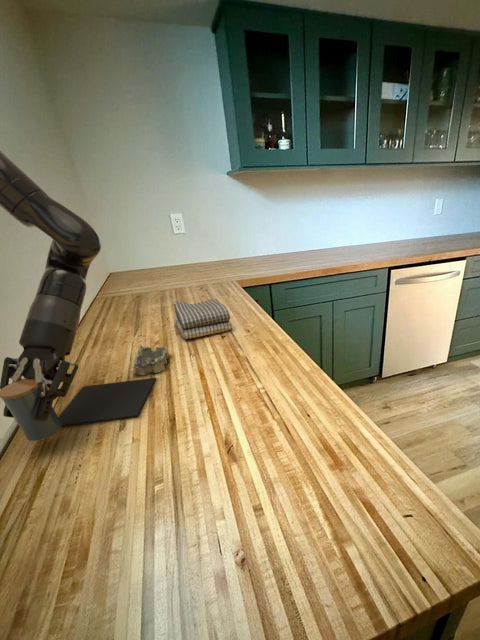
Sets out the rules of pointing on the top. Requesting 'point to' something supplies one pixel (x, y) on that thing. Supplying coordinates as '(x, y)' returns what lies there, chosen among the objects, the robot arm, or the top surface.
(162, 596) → the top surface
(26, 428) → the sugar canister
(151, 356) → the egg carton
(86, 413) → the counter mat
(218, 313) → the towel
